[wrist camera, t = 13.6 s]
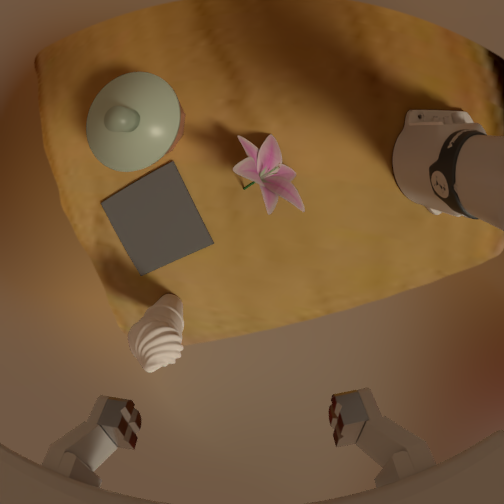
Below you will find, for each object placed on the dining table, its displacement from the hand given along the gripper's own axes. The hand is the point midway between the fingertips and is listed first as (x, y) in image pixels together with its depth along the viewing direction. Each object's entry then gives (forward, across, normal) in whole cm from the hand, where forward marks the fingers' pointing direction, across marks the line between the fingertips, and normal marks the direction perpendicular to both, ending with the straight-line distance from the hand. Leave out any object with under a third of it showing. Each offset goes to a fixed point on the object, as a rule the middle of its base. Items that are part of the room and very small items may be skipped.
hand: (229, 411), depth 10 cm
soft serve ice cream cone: (+34, +13, +16) cm, 40 cm away
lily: (+34, -4, -6) cm, 35 cm away
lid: (+27, +13, -14) cm, 33 cm away
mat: (+34, +14, +1) cm, 37 cm away
